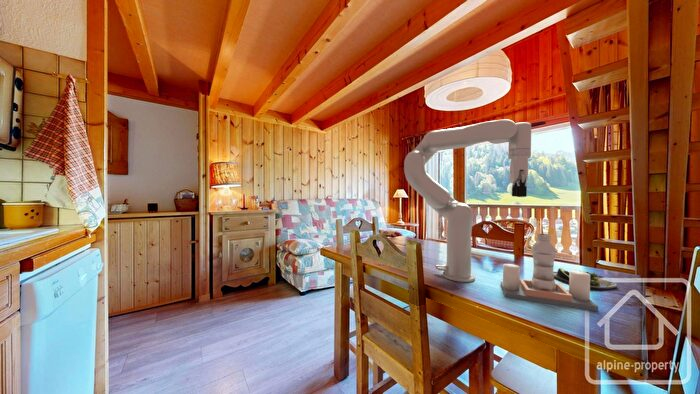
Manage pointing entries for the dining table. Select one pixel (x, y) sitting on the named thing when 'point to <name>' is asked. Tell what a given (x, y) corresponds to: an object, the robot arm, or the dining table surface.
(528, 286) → the twin post tray
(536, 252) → the plastic bottle
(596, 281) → the salad plate
